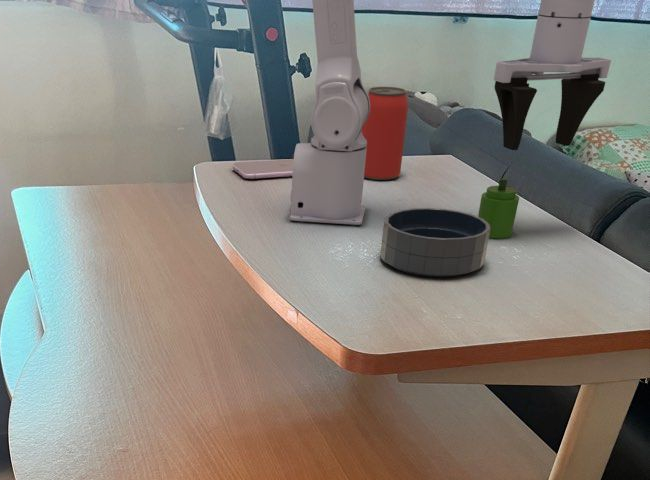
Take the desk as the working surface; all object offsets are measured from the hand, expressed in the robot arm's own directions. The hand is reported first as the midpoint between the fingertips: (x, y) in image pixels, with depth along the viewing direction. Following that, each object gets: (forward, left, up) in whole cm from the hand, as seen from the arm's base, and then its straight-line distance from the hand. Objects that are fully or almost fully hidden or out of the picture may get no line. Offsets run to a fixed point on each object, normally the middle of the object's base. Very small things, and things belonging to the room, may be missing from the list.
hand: (536, 146), depth 102 cm
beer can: (-19, +25, -10) cm, 33 cm away
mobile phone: (-34, +24, -10) cm, 43 cm away
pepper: (-3, -1, -10) cm, 11 cm away
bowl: (-11, -14, -10) cm, 21 cm away
